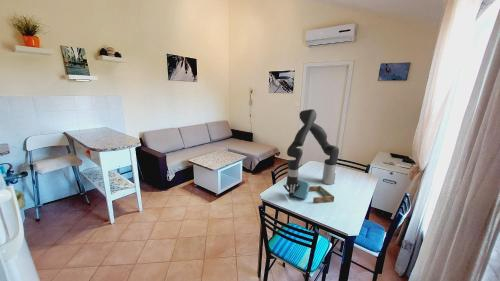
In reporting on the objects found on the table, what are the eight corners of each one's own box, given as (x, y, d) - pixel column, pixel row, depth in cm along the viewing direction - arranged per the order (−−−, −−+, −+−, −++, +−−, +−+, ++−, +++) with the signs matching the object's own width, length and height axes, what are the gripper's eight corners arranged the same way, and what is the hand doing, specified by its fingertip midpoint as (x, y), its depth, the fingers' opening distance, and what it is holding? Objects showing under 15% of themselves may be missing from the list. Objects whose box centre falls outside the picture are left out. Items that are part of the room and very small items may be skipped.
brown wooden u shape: (319, 190, 162) (320, 185, 162) (333, 201, 145) (334, 196, 145) (301, 191, 159) (302, 186, 158) (313, 203, 142) (314, 198, 141)
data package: (306, 199, 147) (310, 183, 148) (304, 199, 143) (308, 182, 145) (291, 194, 153) (295, 179, 155) (289, 194, 150) (293, 178, 152)
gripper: (298, 172, 148) (296, 193, 152) (282, 173, 146) (280, 194, 149) (303, 176, 141) (301, 198, 145) (286, 177, 138) (284, 200, 142)
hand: (290, 196), depth 147 cm, fingers closed
